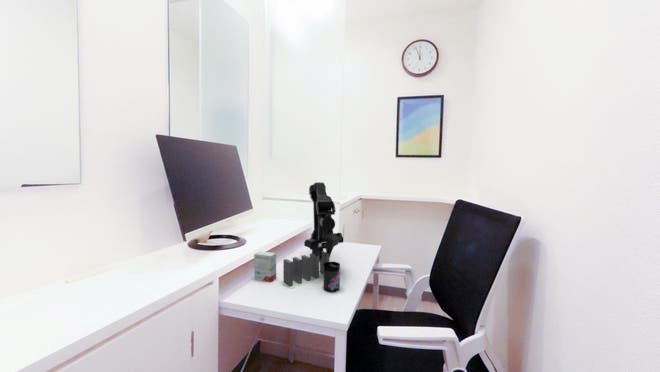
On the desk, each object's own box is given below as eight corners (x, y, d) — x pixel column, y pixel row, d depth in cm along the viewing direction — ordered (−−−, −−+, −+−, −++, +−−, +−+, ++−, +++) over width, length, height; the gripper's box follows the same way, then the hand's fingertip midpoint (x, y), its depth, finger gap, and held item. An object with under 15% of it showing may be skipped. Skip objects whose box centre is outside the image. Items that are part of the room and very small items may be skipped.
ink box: (276, 278, 126) (276, 252, 125) (271, 283, 122) (271, 256, 121) (260, 276, 129) (259, 250, 128) (253, 280, 125) (253, 253, 124)
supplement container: (324, 293, 112) (324, 267, 111) (322, 286, 119) (322, 261, 118) (341, 292, 113) (341, 266, 112) (338, 285, 120) (338, 261, 119)
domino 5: (319, 272, 133) (319, 251, 132) (322, 272, 134) (322, 251, 133) (326, 276, 129) (326, 254, 128) (329, 275, 130) (329, 253, 129)
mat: (280, 281, 123) (280, 281, 123) (325, 269, 138) (325, 269, 138) (291, 289, 116) (291, 288, 116) (336, 275, 131) (337, 274, 131)
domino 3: (301, 277, 127) (301, 255, 126) (304, 276, 128) (304, 255, 127) (307, 281, 123) (307, 258, 122) (310, 280, 124) (310, 257, 123)
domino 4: (309, 275, 130) (309, 253, 129) (312, 274, 131) (312, 253, 130) (316, 278, 126) (316, 256, 125) (319, 277, 127) (319, 255, 126)
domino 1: (283, 282, 121) (283, 259, 121) (286, 281, 122) (286, 258, 122) (289, 286, 117) (289, 262, 117) (292, 285, 118) (292, 262, 118)
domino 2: (292, 280, 124) (292, 257, 123) (295, 279, 125) (295, 256, 124) (298, 283, 120) (298, 260, 120) (301, 283, 121) (302, 259, 121)
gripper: (318, 231, 118) (318, 268, 119) (351, 226, 129) (351, 260, 131) (303, 227, 127) (303, 261, 128) (335, 222, 138) (335, 254, 139)
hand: (324, 259), depth 131 cm, fingers open, 4 cm apart
